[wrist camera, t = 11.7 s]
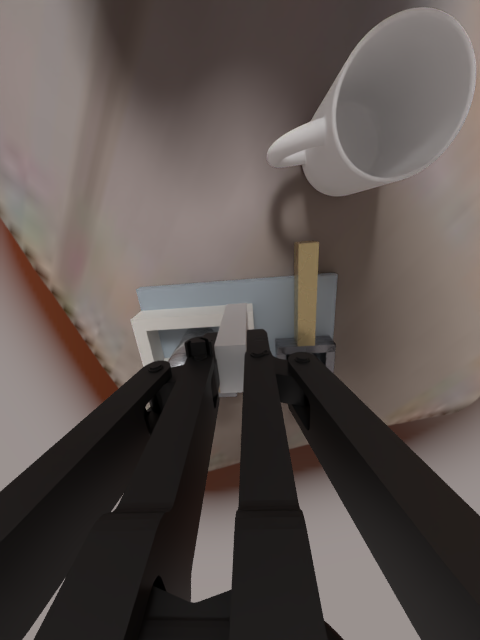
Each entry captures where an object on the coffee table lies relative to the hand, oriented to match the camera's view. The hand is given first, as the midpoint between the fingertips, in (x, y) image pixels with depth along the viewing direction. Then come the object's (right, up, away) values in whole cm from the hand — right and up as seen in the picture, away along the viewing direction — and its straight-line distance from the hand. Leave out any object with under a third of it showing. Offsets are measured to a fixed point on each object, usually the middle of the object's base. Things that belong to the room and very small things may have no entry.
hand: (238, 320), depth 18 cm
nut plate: (0, -2, +14) cm, 15 cm away
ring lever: (+8, 0, +12) cm, 14 cm away
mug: (+8, +17, +7) cm, 20 cm away
